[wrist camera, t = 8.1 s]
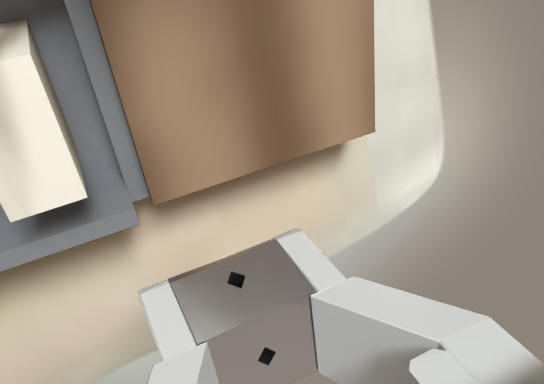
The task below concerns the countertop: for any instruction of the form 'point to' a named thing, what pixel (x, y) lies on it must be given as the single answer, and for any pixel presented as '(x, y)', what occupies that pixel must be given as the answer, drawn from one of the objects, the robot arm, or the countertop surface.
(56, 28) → the box
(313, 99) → the bench plate
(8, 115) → the tile
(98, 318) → the countertop surface
